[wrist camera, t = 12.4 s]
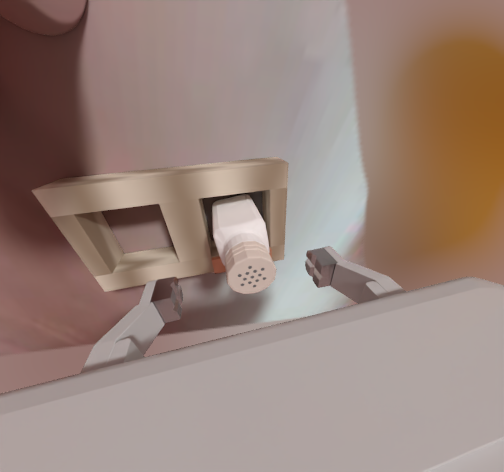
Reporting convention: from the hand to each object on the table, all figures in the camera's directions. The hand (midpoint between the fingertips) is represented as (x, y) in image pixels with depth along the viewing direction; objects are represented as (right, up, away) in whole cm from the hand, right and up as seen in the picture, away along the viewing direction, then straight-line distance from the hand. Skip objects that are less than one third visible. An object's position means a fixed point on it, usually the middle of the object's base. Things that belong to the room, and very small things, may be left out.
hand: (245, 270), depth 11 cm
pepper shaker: (-2, +5, +8) cm, 9 cm away
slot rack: (-6, +4, +7) cm, 10 cm away
